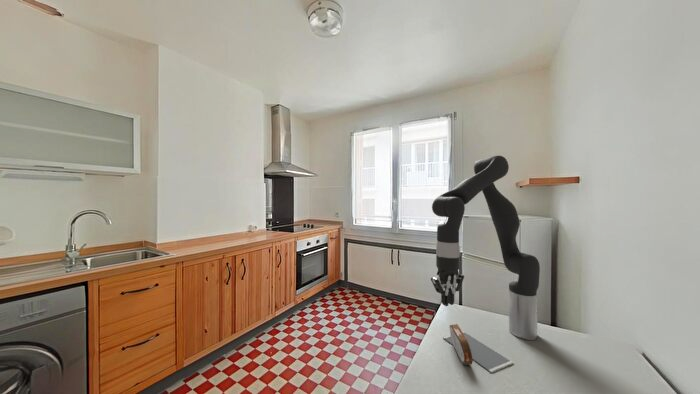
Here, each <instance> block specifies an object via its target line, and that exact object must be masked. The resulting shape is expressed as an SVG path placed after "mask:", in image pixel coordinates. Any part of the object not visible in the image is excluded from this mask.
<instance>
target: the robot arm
mask: <svg viewBox="0 0 700 394" xmlns="http://www.w3.org/2000/svg"><path fill="white" fill-rule="evenodd" d="M509 167H510V166H509V163H508V160H507V158H506V157H504V156H502V155H493V156H489V157H485V158H482V159H479V160H476V161H475V162H474V164H473V171H474V175H472V176H470V177H467V178H466V179H464V180H463V181H461V182H460V183H459V184H457V185H456V186H455V187H454V188H453V189H451V190H449V191H446V192H444V193H442V194H440V195H438V196H437V197H436V198H435V199H434V200H433V202H432V205H431V209H432V212H433V214H434V215H435V216H437V217H442V218H447V221H446V223H440V224H438V225H437V228H436V250H435V251H436V253H435V257H436V258H435V260H436V261H435V262H436V264H435V265H436V268H437V272H436V276H433V277H431V278H430V281H431V283H432V285H433V288H434V289H435V292H437V293H439V294H440V295H441V297H440V301H441V304H442V305H443V306H445V307H449V305H451V306H454V305H455V294H456V293H457V292H459V291H460V290H461V287H462V284H463V282H464V279H465V275H464V274H461V273H459V270H460V268H461V266H460V265H461V263H460V261H461V259H460V258H461V257H460V256H461V253H460V252H461V250H460V247H461V246H460V228H461V224H462V221H463V218H464V215H465V209H466V208H465V207H466V206H465V205H467V204H468V203H469V202H471V201H472V200H473V199H474V198H475V197H476V196H478V194H479V193H480V192H482V193H483V196H484V198H485V201H486V204H487V207H488V211H489V215H490V216H491V220H492V222H493V226H494V228H495V231H496V235H497V238H498V241H499V245H500V250H501V255H502V256H501V257H502V260H503V261H502V262H503V264H504V266H505V268H506V270H508V271H509V272H511V273H513V274H515V275H518V279H517V281H511V282H509V283H508V331H509V332H510V334H512V335H513V336H515V337H517V338H520V339H523V340H527V341H529V340H530V341H534V340H536V339H537V337H538V312H537V310H538V309H537V308H538V307H537V305H538V302H537V297H538V296H537V292H538V289H539V286H540V274H541V271H540V270H541V267H540V262H539V260H538V258H537V257H536V256H534V255H532V254H528V253H524V252H521V251H520V250H519V246H518V244H517V235H518V232H519V229H520V225H521V223H520V221H521V220H520V217H519V214H518V212H517V208H516V206H515V205H514V204H513V203H512V201H511V200H509V199H508V198H507V197H505V195H503V194H502V193H501V192H500V191H499V190H498V189H497V187H496V185H495V182H497V181H498V180H500V179H502V178H504V177H505V176H507V174H508V171H509Z"/></svg>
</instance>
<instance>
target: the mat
mask: <svg viewBox="0 0 700 394" xmlns="http://www.w3.org/2000/svg"><path fill="white" fill-rule="evenodd" d="M462 332H463V334H464V335H465V337H466V339H467V341H468V343H469V346H470V349H471V353H472V360H473V362H475V363H476V364H478V365H479V366H481V367H482V368H484V369H485V370H486V371H488V372H489V373H490V374H493V373H495V372H498V371H499V370H502V369H505V368H506V367H508V366H509V367H510V366H511V365H514V361H512V360H510V359H508V358H507V357H505V356H503V355H502V354H500V353H499V352H498V351H495V350H494V349H492V348H490V347H489V346H487V345H486V344H485V343H482V342H481V341H479V340H478V339H476V338H475V337H473V336H471V335H470V334H468V333H466V332H465V331H462ZM443 340H444V341H446V342H447V343H448V344H450V345H452V346H453V343H452V340H451V334H449V335H446V336H444V337H443Z"/></svg>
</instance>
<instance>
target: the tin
mask: <svg viewBox="0 0 700 394" xmlns="http://www.w3.org/2000/svg"><path fill="white" fill-rule="evenodd" d="M449 330H450V335H451V340H452V343H453V345H452V346H453V348H454V350H455V352H456V353H457V356H458V358H459V360H460V362H461V364H462V365H473V363H474V360H472V353H471V349H470V346H469V343H468V341H467V339H466V337H465V335H464V334H463V331H462V329H461V327H460V325H459V324H457V323H456V324H450V325H449Z"/></svg>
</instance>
